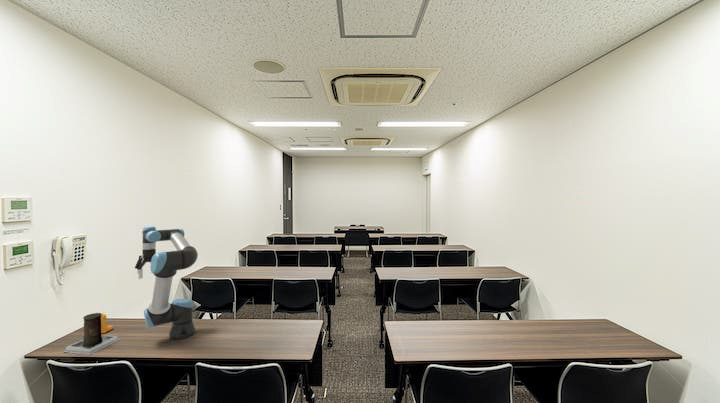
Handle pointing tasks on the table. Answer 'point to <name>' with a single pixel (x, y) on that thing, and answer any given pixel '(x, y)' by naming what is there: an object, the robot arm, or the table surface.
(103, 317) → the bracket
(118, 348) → the table surface
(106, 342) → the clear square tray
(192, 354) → the table surface
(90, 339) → the container
